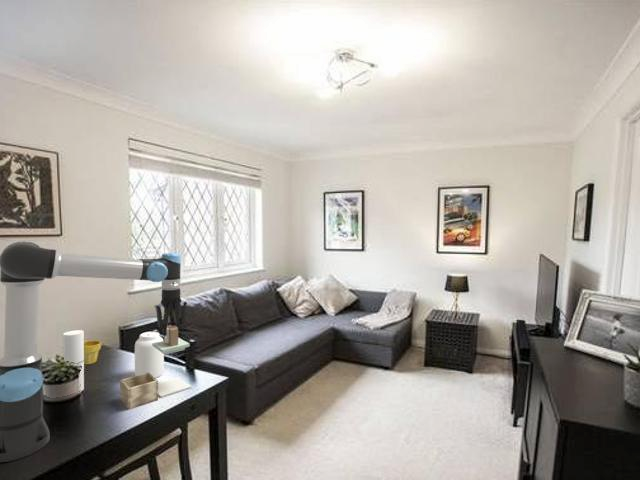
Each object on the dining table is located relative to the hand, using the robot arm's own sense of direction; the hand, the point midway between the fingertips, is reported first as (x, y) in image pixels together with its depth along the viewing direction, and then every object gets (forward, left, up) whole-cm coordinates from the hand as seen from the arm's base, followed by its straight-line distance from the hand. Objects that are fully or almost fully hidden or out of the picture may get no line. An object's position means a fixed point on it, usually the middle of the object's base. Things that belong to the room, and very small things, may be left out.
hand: (170, 341), depth 152 cm
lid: (0, 0, -4) cm, 4 cm away
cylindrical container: (-31, +25, -21) cm, 45 cm away
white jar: (-2, +20, -21) cm, 29 cm away
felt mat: (0, 0, -21) cm, 21 cm away
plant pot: (-19, +57, -21) cm, 64 cm away
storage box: (-14, -2, -21) cm, 25 cm away
